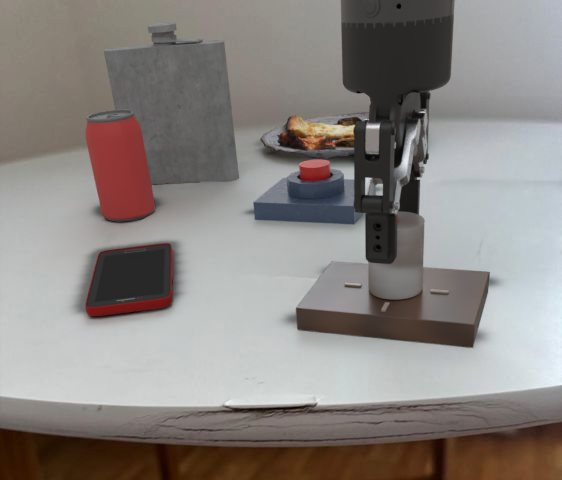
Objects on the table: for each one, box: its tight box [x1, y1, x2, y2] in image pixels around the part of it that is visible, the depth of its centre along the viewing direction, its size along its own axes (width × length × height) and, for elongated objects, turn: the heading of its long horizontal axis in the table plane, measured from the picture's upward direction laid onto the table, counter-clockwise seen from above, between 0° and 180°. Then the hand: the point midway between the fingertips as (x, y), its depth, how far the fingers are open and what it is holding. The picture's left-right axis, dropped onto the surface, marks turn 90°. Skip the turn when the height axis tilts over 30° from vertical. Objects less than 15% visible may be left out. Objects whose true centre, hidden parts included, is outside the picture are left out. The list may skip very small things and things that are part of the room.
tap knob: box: [367, 211, 426, 300], centre depth 56 cm, size 4×4×6 cm
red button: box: [298, 158, 331, 181], centre depth 81 cm, size 4×4×2 cm
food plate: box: [259, 111, 369, 160], centre depth 108 cm, size 25×23×4 cm
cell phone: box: [84, 242, 174, 317], centre depth 67 cm, size 8×15×1 cm, turn 8°
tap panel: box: [295, 260, 491, 349], centre depth 58 cm, size 14×10×2 cm
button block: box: [252, 167, 377, 225], centre depth 82 cm, size 12×10×4 cm
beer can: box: [85, 109, 156, 223], centre depth 84 cm, size 7×7×12 cm
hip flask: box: [103, 22, 240, 186], centre depth 93 cm, size 16×4×20 cm, turn 83°
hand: (393, 241), depth 55 cm, fingers open, 8 cm apart
